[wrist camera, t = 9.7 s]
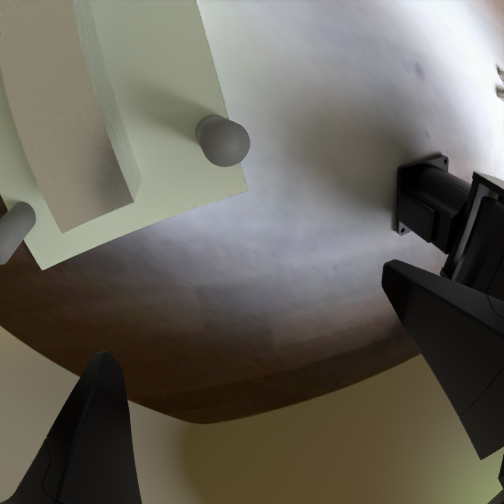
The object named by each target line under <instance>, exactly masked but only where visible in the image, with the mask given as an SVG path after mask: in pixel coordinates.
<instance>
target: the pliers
mask: <svg viewBox="0 0 504 504" xmlns="http://www.w3.org/2000/svg"><path fill="white" fill-rule="evenodd" d="M499 76H500V78H501V79H502V81H503V83H504V72H502V71H499ZM497 97H499V98H500V99H501V100H503V101H504V93H501V92H497Z"/></svg>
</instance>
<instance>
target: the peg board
mask: <svg viewBox="0 0 504 504" xmlns="http://www.w3.org/2000/svg"><path fill="white" fill-rule="evenodd" d="M90 2H91V7H92V11H93V16H94V20H95V25H96V29H97V33H98V37H99V41H100V45H101V49H102V53H103V57H104V61H105V64H106V68H107V71H108V75H109V78H110V82H111V85H112V89H113V92H114V95H115V98H116V102H117V105H118V108H119V111H120V114H121V117H122V120H123V123H124V126H125V129H126V132H127V135H128V138H129V141H130V144H131V146H132V149H133V152H134V155H135V158H136V160H137V163H138V166H139V168H140V171H141V174H142V176H143V177H142V180H141V183H140V186H139V189H138V192H137V196H136V199H135V202H134V203H131V204H129V205H126V206H124V207H122V208H119V209H117V210H114V211H112V212H110V213H107V214H105V215H103V216H100V217H98V218H96V219H93V220H91V221H89V222H87V223H84V224H82V225H80V226H78V227H76V228H73V229H71V230H69V231H67V232H65V233H63V234H62V233H61V231H60V229H59V227H58V225H57V223H56V221H55V219H54V217H53V215H52V213H51V211H50V209H49V207H48V205H47V203H46V201H45V199H44V197H43V195H42V192H41V190H40V188H39V186H38V184H37V181H36V179H35V177H34V174H33V172H32V169H31V167H30V164H29V162H28V159H27V157H26V154H25V151H24V149H23V146H22V143H21V140H20V137H19V134H18V131H17V128H16V125H15V122H14V119H13V116H12V112H11V109H10V105H9V101H8V98H7V94H6V90H5V85H4V81H3V76H2V71H1V66H0V194H1V197H2V199H3V201H4V203H5V205H6V207H7V209H8V212H7V213H6V214H5V215H4V216H3V217H2V218H1V219H0V265H2V264H5V263H6V262H7V261H8V260H9V258H10V257H11V256H12V254H13V253H14V251H15V250H16V249H17V247H18V246H19V245H20V243H21V242H22V241H23V239H24V241H25V243H26V245H27V246H28V248H29V250H30V251H31V253H32V255H33V256H34V258H35V260H36V261H37V263H38V264H39V266H40V268H41V269H42V270H44V269H46V268H49V267H51V266H53V265H55V264H57V263H60V262H62V261H64V260H66V259H68V258H71V257H73V256H75V255H77V254H80V253H82V252H84V251H87V250H89V249H91V248H94V247H96V246H98V245H101V244H103V243H106V242H108V241H110V240H113V239H115V238H118V237H120V236H123V235H125V234H128V233H130V232H133V231H135V230H138V229H140V228H143V227H146V226H148V225H151V224H153V223H156V222H159V221H161V220H164V219H167V218H169V217H172V216H175V215H178V214H180V213H183V212H186V211H189V210H192V209H194V208H197V207H200V206H203V205H206V204H209V203H212V202H215V201H218V200H221V199H224V198H227V197H230V196H233V195H236V194H239V193H242V192H245V191H248V190H247V186H246V182H245V178H244V174H243V171H242V167H241V163H240V162H241V161H242V160H243V159H244V158H245V156H246V155H247V153H248V150H249V147H250V140H249V136H248V133H247V132H246V130H245V129H244V128H243V127H242V126H241V125H239V124H237V123H235V122H233V121H231V120H229V118H228V114H227V110H226V106H225V103H224V99H223V95H222V92H221V88H220V84H219V81H218V77H217V73H216V70H215V66H214V62H213V59H212V55H211V52H210V48H209V44H208V41H207V37H206V34H205V30H204V26H203V23H202V19H201V16H200V12H199V9H198V5H197V2H196V0H90Z"/></svg>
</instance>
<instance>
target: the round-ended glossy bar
mask: <svg viewBox="0 0 504 504" xmlns="http://www.w3.org/2000/svg"><path fill="white" fill-rule="evenodd" d="M0 66H1V71H2V76H3V81H4V85H5V90H6V94H7V98H8V101H9V105H10V109H11V112H12V116H13V119H14V122H15V125H16V128H17V131H18V134H19V137H20V140H21V143H22V146H23V149H24V151H25V154H26V157H27V159H28V162H29V164H30V167H31V169H32V172H33V174H34V177H35V179H36V181H37V184H38V186H39V188H40V190H41V192H42V195H43V197H44V199H45V201H46V203H47V205H48V207H49V209H50V211H51V213H52V215H53V217H54V219H55V221H56V223H57V225H58V227H59V229H60V231H61V233H62V234H63V233H65V232H67V231H69V230H71V229H73V228H76V227H78V226H80V225H82V224H84V223H87V222H89V221H91V220H93V219H96V218H98V217H100V216H103V215H105V214H107V213H110V212H112V211H114V210H117V209H119V208H122V207H124V206H126V205H129V204H131V203H134V202H135V199H136V196H137V192H138V189H139V186H140V183H141V180H142V177H143V176H142V174H141V171H140V168H139V166H138V163H137V160H136V158H135V155H134V152H133V149H132V146H131V144H130V141H129V138H128V135H127V132H126V129H125V126H124V123H123V120H122V117H121V114H120V111H119V108H118V105H117V102H116V98H115V95H114V92H113V89H112V85H111V82H110V78H109V75H108V71H107V68H106V64H105V61H104V57H103V53H102V49H101V45H100V41H99V37H98V33H97V29H96V25H95V20H94V16H93V11H92V7H91V2H90V0H0Z"/></svg>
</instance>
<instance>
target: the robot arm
mask: <svg viewBox="0 0 504 504" xmlns="http://www.w3.org/2000/svg"><path fill="white" fill-rule="evenodd" d="M403 171H404V173H403ZM472 178H473V181H472V184H470V183H468V182H466V181H464V180H462V179H460V178H458V177H456V176H454V175H452V174H450V173H448V157H446V156H444V155H442V156H438V157H434V158H430V159H426V160H422V161H418V162H414V163H410V164H406V165H402V166H400V167H399V169H398V197H397V223H396V232H397V233H398V234H399V235H404V234H406V233H409V232H411V231H413V232H414V233H416V234H417V235H418V236H420V237H421V238H422V239H424V240H425V241H426V242H427V243H430V242H431V243H432V244H433V245H435V246H436V247H437V248H438V249H440V250H441V251H442V252H443V253H445V254H448V257H447V259H446V262H445V264H444V267H442V269H441V271H440V275H441V276H439V275H436V274H434V273H431V272H428V271H426V270H423V269H421V268H418V267H415V266H413V265H410V264H407V263H405V262H402V261H399V260H396V259H393V260H391V261H388V262H386V263H385V264H384V265H383V273H382V281H381V283H382V288H383V290H384V292H385V294H386V295H387V297H388V299H389V301H390V303H391V304H392V306H393V308H394V310H395V312H396V314H397V315H398V317H399V319H400V321H401V323H402V325H403V326H404V328H405V329H406V331H407V332H408V334H409V335H410V337H411V338H412V340H413V341H414V343H415V344H416V346H417V348H418V349H419V351H420V352H421V354H422V355H423V357H424V359H425V360H426V362H427V363H428V365H429V366H430V368H431V370H432V371H433V373H434V375H435V376H436V378H437V380H438V381H439V383H440V385H441V386H442V388H443V390H444V392H445V393H446V395H447V397H448V399H449V400H450V402H451V404H452V406H453V407H454V409H455V411H456V413H457V415H458V416H459V419H460V421H461V423H462V424H463V426H464V428H465V430H466V432H467V434H468V436H469V438H470V440H471V442H472V444H473V446H474V448H475V450H476V452H477V454H478V456H479V458H480V460H482V459H484V458H486V457H488V456H489V455H491V454H493V453H494V452H496V451H497V450H499V449H501V448H502V447H504V181H502V180H500V179H498V178H496V177H493V176H489V175H486V174H482V173H479V172H475V171H474V172H473V176H472ZM498 479H499V481H500V483H501V485H502V487H503V490H502V491H501V492H500V493H499V494H498V495H496V497H494V498H493V499H492V500H491V501H490V502H489V503H488V504H504V455H503V460H502V465H501V469H500V473H499V477H498ZM0 504H142V501H141V496H140V490H139V485H138V479H137V473H136V467H135V459H134V452H133V443H132V434H131V424H130V413H129V407H128V401H127V395H126V389H125V382H124V375H123V370H122V367H121V365H120V364H119V363H118V362H117V361H116V360H115V358H114V357H113V356H112V355H111V354H110V353H109V352H108V351H102V352H98V353H96V354H95V355H94V356H93V358H92V360H91V361H90V363H89V364H88V366H87V368H86V369H85V371H84V372H83V374H82V376H81V377H80V379H79V381H78V382H77V384H76V385H75V387H74V389H73V390H72V392H71V394H70V396H69V397H68V399H67V401H66V402H65V404H64V406H63V407H62V409H61V411H60V413H59V415H58V416H57V418H56V420H55V422H54V424H53V425H52V427H51V429H50V431H49V433H48V434H47V438H46V439H45V440H44V442H43V444H42V446H41V448H40V450H39V451H38V453H37V455H36V457H35V459H34V460H33V462H32V464H31V466H30V467H29V469H28V471H27V472H26V474H25V476H24V477H23V479H22V481H21V482H20V484H19V486H18V488H17V489H16V491H15V493H14V494H13V495H12V496H11V497H10V498H9V499H7V500H5V501H3V502H1V503H0Z"/></svg>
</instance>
